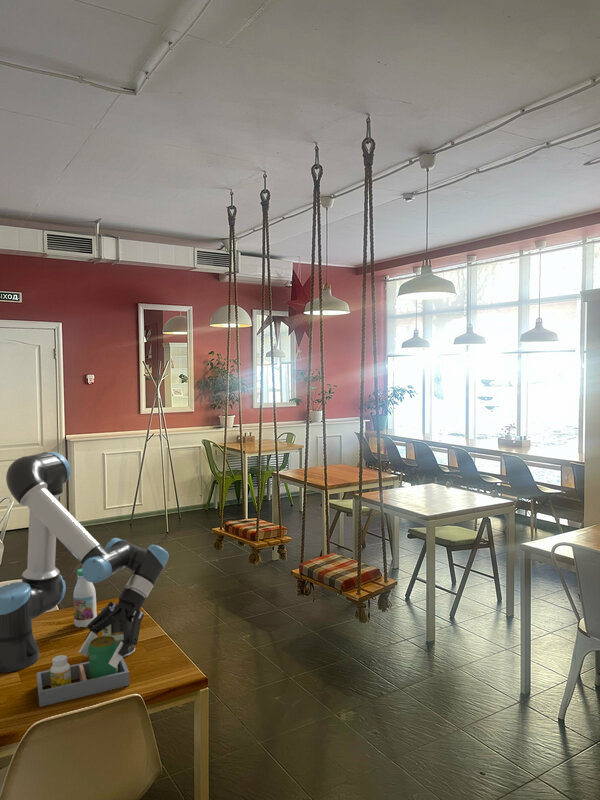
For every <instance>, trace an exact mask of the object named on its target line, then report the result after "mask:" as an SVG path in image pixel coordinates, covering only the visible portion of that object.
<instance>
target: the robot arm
mask: <svg viewBox="0 0 600 800" xmlns="http://www.w3.org/2000/svg"><path fill="white" fill-rule="evenodd" d="M70 477H71V466H70V463H69V461H68V459H66V457H65V455H63V454H61V453H60V452H56V451H49V452H47V451H46V452H45V451H44V452H41V453H36V454H32V455H27V456H26V455H25V456H21V457H18V458H17V459H15V460H14V461H13V462H12V463H11V464H10V465H9V467H8V469H7V471H6V476H5V480H6V485H7V488H8V491H9V492H10V494H11V495H12V497H13V498H14V499H15V501H16V502H17V503H19V505H20V506H22V507H27V508H28V509H29V512H28V513H29V515H28V516H29V517H28V539H27V540H28V543H27V545H28V546H27V568H26V569H25V570H24V571H23V572H22V575H21V581H19V582H17V581H16V582H12V583H10V584H4V585H3V586H1V587H0V673H10V672H16V671H20V670H22V669H25V668H27V667H29V666H32V665H34V664H35V663H36V662H37V661H38V660H39V659H40V648H39V645H38V644H37V641H36V638H35V636H34V634H33V633H34V632H33V620H34V619H36V618H38V617H39V616H41V615H43V614H44V613H46V612H48V611H50V610H52V609H54V608H55V607H56V606H57V605H59V604H60V603H61V602H62V601H63V599H64V597H65V595H66V589H67V587H66V581H65V580H64V579H63V576H62V575H61V574H60V569H58V568H57V567H56V554H57V553H56V551H57V549H56V547H57V539H58V541H60V543H61V544H62V545H64V547H65V548H66V549H67V550H68V551H69V552H70V553H71V555H73V556H74V557H75V558H76V559H77V560H78V562H79V563H81V565H82V566H81V568H82V573H83V575H84V578H85V579H86V580H87V581H89V582H92V583H93V584H95V583H96V584H97V583H100V582H102V581H105V580H107V579H108V578H109V577H111V576H113V575H114V574H115V573H117V572H119V571H122V570H123V569H127V570H130V571H132V572H133V573H132V575H130V578H129V580H128V582H126V584H125V588H124V589H122V591H121V593H120V595H119V597H118V602H117V603H114V602H112V601H110V602H108V604H107V606H105V607H106V608H105V607H104V608H105V609H104V610H103V611H102V612H101V611H100V613H99V614H98V615H97V617H96V618H95V619H94V620H92V621H91V622H90V623H89V624H88V626H87V627H86V628H87V629H89V632H88V634H87V635H86V638H84V642H83V643H82V646H81V647H80V648H79V651H78V653H79V654H80V655H82V656H83V657H87V656H88V655H89V654H88V647H89V645H90V642H91V641H92V640H93V639H95V638H98V637H99V633H100V632H102V630H103V629H105V628H106V627H107V626H109V625H110V624H112V623H113V622H122V623H123V635H124V640H122V641H123V642H124V643H123V642H120V644H119V646H118V647H117V649H116V651H115V653H114V655H113V656H112V658H111V660H110V662H109V663H108V664H110V665H111V666H113V667H114V668H116V667H117V665H118V663H119V661H120V660H121V658H122V656H124V655H125V653H126V651H127V650H128V648H129V646H131V645H135V646H137V644H138V642H139V641H138V640H139V636H140V630H141V625H142V620H143V618H144V616H145V614H144V612H142V611H141V609H142V607H143V605H144V604H145V602H146V598H148V596H149V595H150V593H151V591H152V589H153V587H154V586H155V584H156V582H157V580H158V579H159V577H160V576H161V574H162V572H163V570H164V569H165V568H166V567H165V566H166V564H167V562H169V558H170V557H169V556H170V554H169V552H168V551H167V550H166V549H165V548H163V547H161V546H160V545H157V544H150V545H149V546H148V547H147V548H143V547H140V546H138V545H136V544H134V543H131V542H129V541H127V540H125V539H121V538H118V537H114V538H113V537H112V538H111V539H110V541H108V542H107V544H105V545H106V546H105V548H104V546H102V544H100V543H99V542H98V540H97V539H95V538H94V537H93V535H91V533H90V532H89V531H88V530H87V528H85V527H84V526H83V525H82V523H80V522H79V521H78V520H77V518H76V517H75V516H74V515H72V513H71V512H70V511H69V510H68V509H67V508H66V507H65V506H64V505H63V504H62V502H60V501H59V500H58V499H59V497H61V495H63V493H64V491H63V490H64V484H65V483H66V482H67V481H68V480H69V478H70ZM115 604H117V605H115ZM113 615H114V616H113ZM133 617H134V618H133ZM132 618H133V622H132Z"/></svg>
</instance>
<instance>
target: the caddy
mask: <svg viewBox="0 0 600 800" xmlns="http://www.w3.org/2000/svg"><path fill="white" fill-rule="evenodd" d="M70 670H71V681H74V680H78V679H79V681H76V682H71V684H67V685H62V686H58V687H54V688H51V687H50V688H46V689H43V687H47V686H51V676H50V669H48V670H43V671H38V672H36V683H37V684H36V685H37V686H36V687H37V695H38V703H39V704H38V705H39V707H40V708H41V707H44V706H49V705H53V704H58V703H62V702H65V701H70V700H74V699H75V700H76V699H79V698H83V697H88V696H91V695H95V694H100V693H104V692H108V690H109V691H113V690H117V689H120V688H119V687H121V688H124V686H126V687H128V685H131V684H130V671H129V670H130V669H128V666H127V664H126V661H125V660H124V657H123V656H122V658H121V660H120V661H119V663H118V671H119V672H118V673H115V674H111V675H107V676H102V677H98V678H93V679H89V661H85V662H81V663H75V664H72V665H70ZM87 677H88V678H87ZM116 688H117V689H116ZM112 689H113V690H112Z"/></svg>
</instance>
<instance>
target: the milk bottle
mask: <svg viewBox="0 0 600 800" xmlns="http://www.w3.org/2000/svg"><path fill="white" fill-rule="evenodd" d="M76 577H77V581H76V584H75V586H74V590H73V597H72V599H73V601H72V602H73V620H74V621H73V622H74V626H75V627H76V628H80V627H83V628H88V627H87V626H88V624H89V623H90V622H91V621H92V620H94V619H95V618H96V617H97V616H98V615H97V614H98V613H97V596H96V588H95V586H94V583H92V582H89V581H87V580H86V579H85V578H84V575H83V573H82V567H81V568H79V569H77V570H76Z"/></svg>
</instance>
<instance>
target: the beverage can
mask: <svg viewBox="0 0 600 800" xmlns="http://www.w3.org/2000/svg"><path fill="white" fill-rule="evenodd" d="M116 649H117V642H116V641H115V639H114V638H113V637H111V636H102V635H101V636H98V637H97V638H95V639H93V640H92V641H91V642H90V645H89V647H88V654H87V655H88V662H89V676H88V680H89V679H93V678H98V677H102V676H107V675H111V674H115V673H119V670H118V665H117V667H116V668H114V667H113V666H111V665H110V664H108V663H109V662H110V660H111V658H112V656H113V655H114V653H115V651H116Z"/></svg>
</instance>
